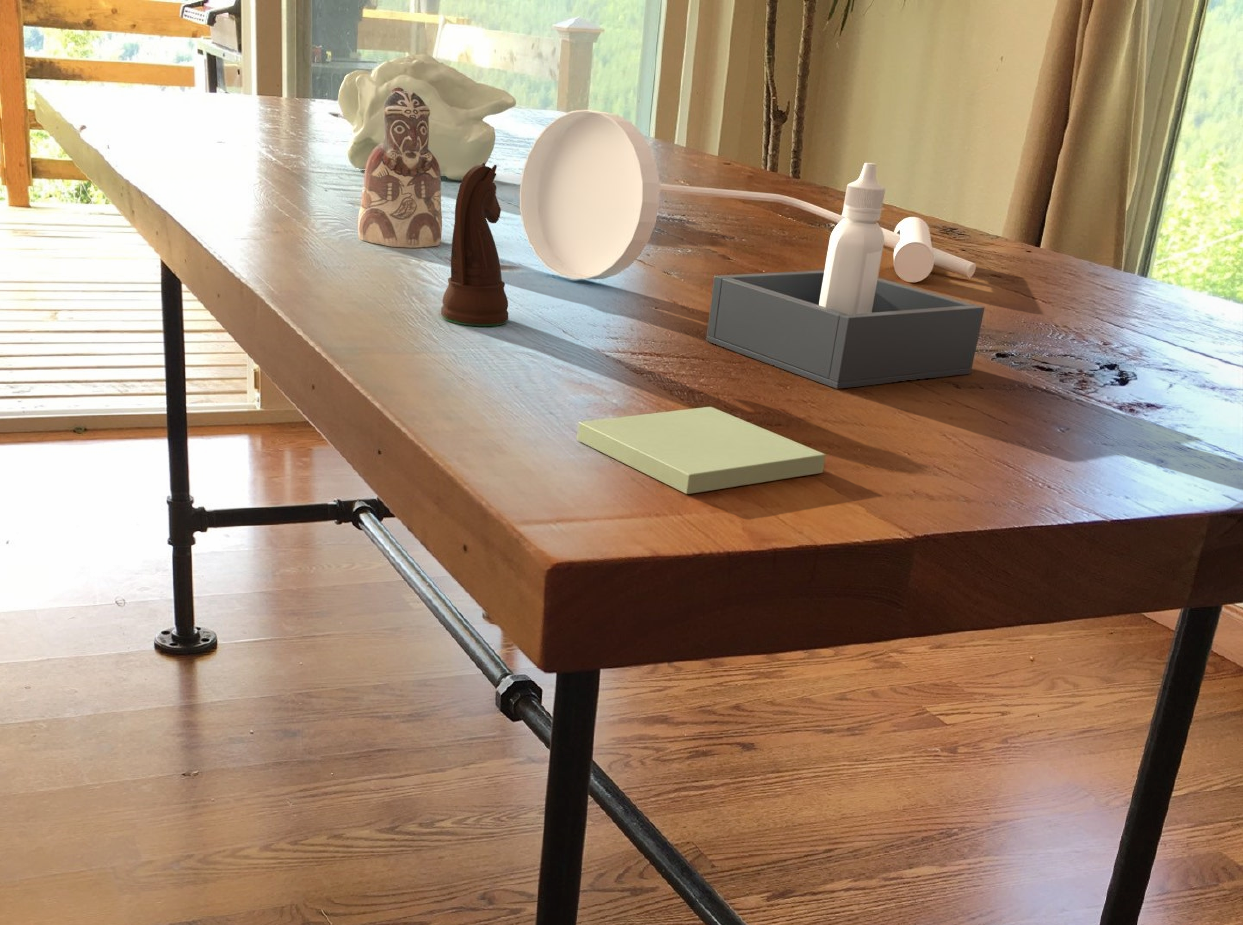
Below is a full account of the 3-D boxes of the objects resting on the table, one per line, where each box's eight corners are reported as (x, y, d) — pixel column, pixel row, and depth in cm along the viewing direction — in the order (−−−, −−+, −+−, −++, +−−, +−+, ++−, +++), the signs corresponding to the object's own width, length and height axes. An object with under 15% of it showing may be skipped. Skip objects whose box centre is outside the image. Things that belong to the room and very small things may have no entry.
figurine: (361, 245, 118) (364, 90, 113) (354, 230, 124) (357, 82, 119) (446, 249, 120) (453, 96, 114) (435, 234, 126) (441, 88, 121)
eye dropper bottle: (889, 355, 96) (924, 168, 91) (837, 363, 92) (870, 169, 87) (838, 340, 99) (869, 158, 93) (786, 347, 95) (815, 158, 90)
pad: (823, 473, 72) (826, 454, 71) (686, 494, 67) (689, 474, 67) (708, 423, 78) (710, 406, 78) (576, 440, 73) (578, 421, 73)
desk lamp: (771, 178, 98) (1036, 205, 131) (541, 90, 110) (838, 135, 142) (717, 350, 104) (984, 334, 137) (504, 249, 115) (798, 257, 148)
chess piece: (520, 319, 98) (531, 167, 93) (481, 331, 94) (490, 172, 89) (464, 308, 100) (472, 158, 95) (423, 318, 96) (429, 162, 91)
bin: (970, 373, 95) (985, 307, 93) (836, 389, 88) (849, 317, 86) (836, 330, 104) (847, 268, 102) (705, 341, 97) (714, 275, 95)
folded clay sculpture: (458, 233, 167) (522, 111, 165) (453, 220, 155) (522, 87, 152) (322, 154, 165) (384, 30, 163) (305, 134, 152) (372, -1, 150)
